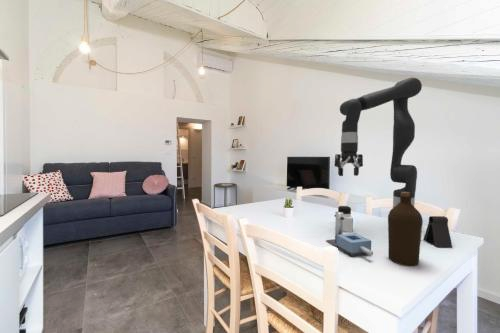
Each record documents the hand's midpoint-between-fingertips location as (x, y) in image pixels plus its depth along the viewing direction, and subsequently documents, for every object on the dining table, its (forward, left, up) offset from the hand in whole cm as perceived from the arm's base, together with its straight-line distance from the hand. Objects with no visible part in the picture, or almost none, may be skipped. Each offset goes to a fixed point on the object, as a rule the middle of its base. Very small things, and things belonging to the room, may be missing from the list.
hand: (348, 175), depth 119 cm
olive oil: (0, +32, -28) cm, 43 cm away
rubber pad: (+13, +11, -28) cm, 33 cm away
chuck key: (+13, +11, -28) cm, 32 cm away
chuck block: (+13, +22, -28) cm, 38 cm away
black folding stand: (-28, +23, -28) cm, 46 cm away
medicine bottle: (-2, -5, -28) cm, 29 cm away
